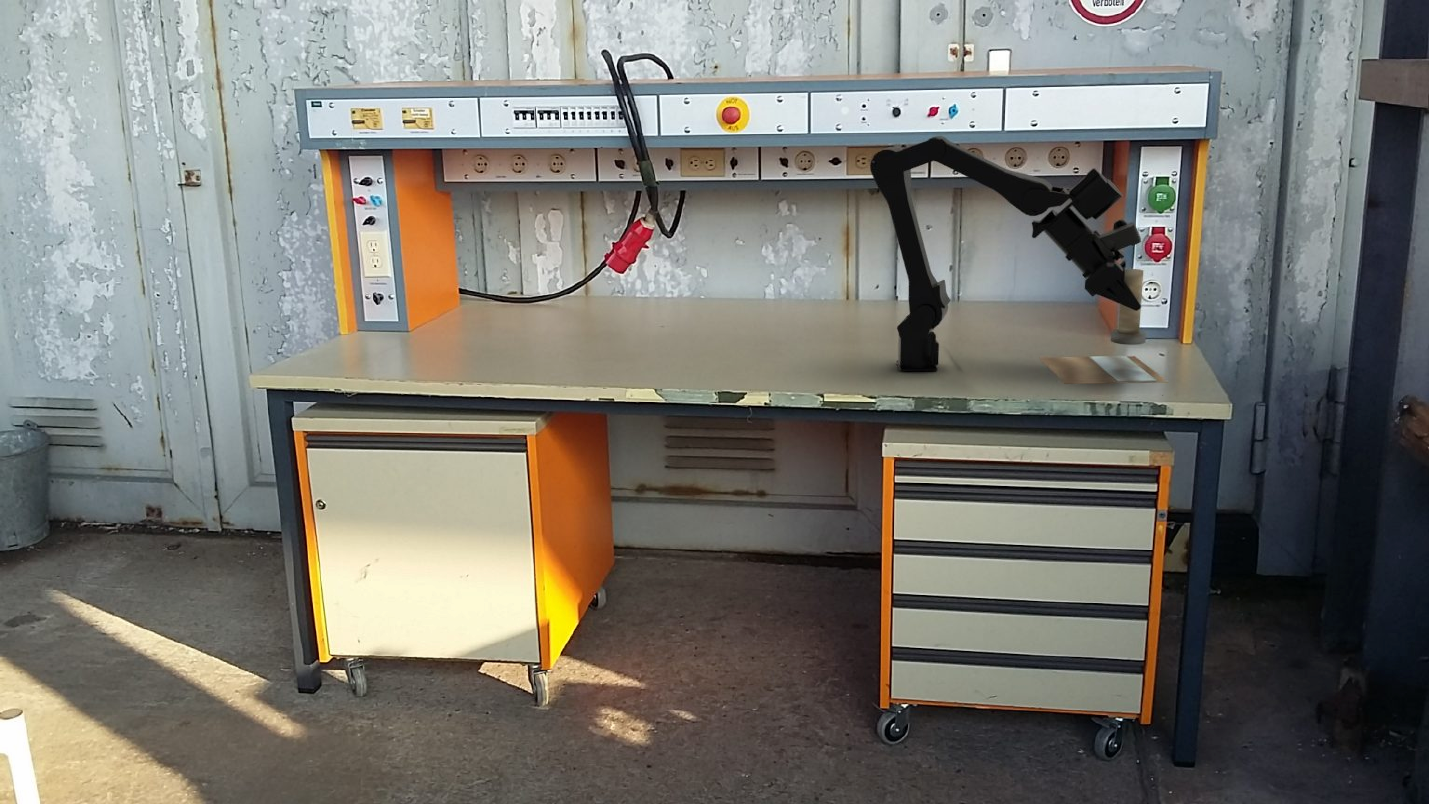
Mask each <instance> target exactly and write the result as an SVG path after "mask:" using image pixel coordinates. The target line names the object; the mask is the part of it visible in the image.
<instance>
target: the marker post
mask: <svg viewBox="0 0 1429 804" xmlns="http://www.w3.org/2000/svg"><path fill="white" fill-rule="evenodd" d="M1125 282H1126V283H1127V285H1128V286H1129V288H1130V289H1131V291H1132V292H1133V294H1134V295H1135V297H1136V298H1137V300H1138V302H1139V303H1140V305H1141V306H1142V299H1143V285H1144V284H1143V282H1144V269H1139V268H1138V269H1137V268H1125ZM1141 310H1142V307H1141V308H1140V309H1139V310H1138V311H1135V310H1133V309H1130V308H1128V307H1126V306H1124V305H1121V304H1119V310H1118V322H1117V323H1118V327H1117V329H1112V330H1111V331H1110V342H1111V343H1115V344H1117V345H1118V344H1119V345H1125V346H1127V345H1129V346H1134V345H1142V344H1145V343H1146V339H1147V338H1146V337H1147V332H1146V331H1144V330H1141V329H1140V327H1141V325H1140V324H1141V313H1142V311H1141Z"/></svg>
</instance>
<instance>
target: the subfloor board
mask: <svg viewBox="0 0 1429 804" xmlns="http://www.w3.org/2000/svg"><path fill="white" fill-rule="evenodd" d="M1039 359H1040V361H1042V362H1043V363H1044V364H1045V366H1046V367H1048V368H1049V370H1050V371H1052V372H1053V374H1054V375H1056V377H1057V378H1058V379H1059V380H1060V381H1062V382H1063V383H1064V385H1075V384H1077V385H1079V384H1080V385H1081V384H1082V385H1083V384H1086V385H1089V384H1147V383H1148V384H1150V383H1152V384H1153V383H1158V384H1159V383H1160V384H1161V383H1169V381H1168V380H1167V379H1165V378H1164V377H1163V376H1162V375H1161V374H1158V372H1156V371H1155V370H1154V369H1152V368H1151V367H1150V366H1148V365H1147V364H1146V363H1144V362H1143V361H1141V360H1140V358H1138V357H1136V356H1135V355H1134V356H1133V355H1128V356H1127V355H1102V356H1101V355H1099V356H1098V355H1097V356H1094V355H1093V356H1066V357H1063V356H1062V357H1061V356H1060V357H1058V356H1057V357H1046V356H1045V357H1044V356H1043V357H1039Z"/></svg>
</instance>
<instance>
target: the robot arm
mask: <svg viewBox="0 0 1429 804" xmlns="http://www.w3.org/2000/svg"><path fill="white" fill-rule="evenodd" d="M931 162H937V163H938V164H941V165H943V166H944V167H947V168H949V169H951V170H952V171H955V172H957V173H959V174H961V175H963V176H965V177H967V178H969V179H971V180H972V181H975V182H977V183H979V184H981V185H983V186H985V187H986V188H989V189H991V190H994V192H996V193H997V194H999V195H1000V196H1001V197H1002V198H1003V199H1005V201H1007V202H1008V203H1009V204H1011V205H1012V206H1013V207H1014V208H1016V209H1017V210H1019V211H1020V212H1021V213H1022V214H1024V215H1026V216H1029V217H1037V216H1041V215H1043V214H1044V213H1045V212H1047V211H1048V210H1049V209H1050V208H1056V207H1061V206H1062V205H1063V204H1065V203H1066V202H1067V201H1068V200H1071V201H1070V202H1068V203H1067V204H1066V205H1065V206H1064V207H1063V208H1062V209H1060V210H1059V211H1056V210H1055V209H1051V210H1050V211H1049V212H1048V213H1047V214H1046V215H1045V216H1043V218H1041V219H1040V220H1035V219H1034V220H1032V222H1031V226H1032V232H1031V233H1032V234H1031V238H1033V239H1036V238H1038V237H1039V236H1040V235H1041V234H1042V233H1045V235H1047V237H1048V238H1049V239H1050V240H1051V241H1052V242H1053V243H1054V244H1055V245H1056V246H1057V247H1058V248H1059V249H1060V250H1061V252H1062V253H1064V255H1065V257H1064V258H1066V260H1067V261H1068V262H1070V261H1071V262H1072V263H1073V264H1074V266H1076V268H1077V269H1078V270H1080V272H1082V274H1081V276H1082V277H1083V278H1084V279H1085V280H1084V290H1085V291H1086V292H1087V293H1088V294H1089V295H1090V296H1091V297H1095V296H1096V295H1097V296H1100V297H1103V298H1105V299H1107V300H1111V301H1112V302H1115V303H1117V304H1119V305H1120V304H1121V305H1124V306H1126V307H1128V308H1130V309H1133V310H1135V311H1138V310H1139V309H1140V308H1141V309H1142V304H1141V305H1140V303H1139V302H1138V300H1137V298H1136V297H1135V295H1134V294H1133V292H1132V291H1131V289H1130V288H1129V286H1128V285H1127V283H1126V282H1125V269H1127V268H1126V267H1127V266H1126V265H1127V261H1126V259H1124V260H1123V261H1122V262H1118V261H1119V260H1120V259H1121V260H1122V259H1123V258H1124V257H1125V252H1123V250H1122V249H1124V248H1128V247H1129V246H1136V245H1138V244H1140V243H1141V242H1142V238H1141V236H1140V233H1139V230H1138V228H1137V226H1136V223H1135V222H1134V221H1130V222H1127V221H1126V220H1125V219H1123V218H1120V219H1118V220H1115V221H1114V222H1113V229H1111V230H1108V231H1107V232H1105V233H1102V234H1101V233H1100V232H1098V230H1096V229H1095V230H1094V229H1091V228H1090V227H1089V226H1088V225H1087V224H1086V223H1085V222H1084V220H1083V219H1081V218H1080V216H1079V215H1081V217H1083V218H1084V219H1085V220H1086V221H1088V220H1090V219H1091V218H1092V219H1094V220H1096V221H1097V220H1098V219H1100V218H1101V216H1103V215H1104V214H1105V213H1106V212H1107V211H1108V210H1109V209H1111V208H1112V207H1113V206H1114V205H1116V204H1117V203H1118V202H1119V201H1120V200H1121V199H1122V198H1123V197H1124V194H1123V193H1122V191H1120V190H1119V189H1118V187H1117V186H1116V185H1115V184H1114V183H1113V182H1112V180H1110V179H1107V178H1106V177H1105V176H1104V175H1103V173H1101V172H1100V171H1099V170H1098V169H1097V168H1095V167H1092V168H1091V169H1090V170H1089V171H1088V172H1087V173H1086V174H1085V176H1084V177H1083V178H1082V179H1081V180H1080V181H1079V182H1078V183H1076V184H1075V185H1074V186H1073V187H1072V188H1067V187H1058V186H1053V185H1052V184H1051V183H1050V182H1049V181H1047V180H1046V179H1044V178H1041V177H1038V176H1034V175H1031V174H1027V173H1023V172H1018V171H1013V170H1010V169H1006V167H1003V166H1001V165H998V164H997V163H995V162H993V161H991V160H988V159H987V158H985V157H983V156H981V155H979V154H976V153H975V152H973V151H971V150H968V149H966V148H964V147H962V146H960V145H958V144H956V143H954V142H952V141H950V140H949V139H947V138H946V137H945V136H942V135H935V136H932V137H930V138H928V139H927V140H925V141H922V142H919V143H916V144H914V145H911V146H909V147H905V148H900V147H897V146H889V147H887V148H884V149H881V150H880V151H878V152H877V153H875V154H874V155H873V157H872V159H871V161H870V163H869V164H870V165H869V169H870V173H871V175H872V177H873V180H874V182H875V185H876V186H877V189H878V190H879V192H880V193H881V195H882V196H883V198H884V200H885V202H886V203H887V205H888V209H889V212H890V217H891V220H892V224H893V227H894V228H893V229H894V231H895V235H896V238H897V242H898V246H899V249H900V253H901V257H902V260H903V263H904V268H905V272H906V276H907V279H908V297H907V298H908V308H909V309H908V310H909V311H908V312H909V314H907V315H906V316H905V317H904V319H903V320H901V322H900V323H899V325H897V327H896V329H897V333H898V345H897V346H898V349H897V352H898V353H897V354H898V355H897V360H896V361H895V362H896V366H897V367H898V370H899V371H900V372H936V371H938V367H937V366H938V365H939V360H940V359H939V352H940V350H939V349H940V343H939V342H938V340H937V334H936V333H935V332H934V329H935V328H936V327H937V326H939V325H940V324H941V322H942V321H943V320H944V318H945V316H946V315H947V313H948V310H949V303H950V302H951V301H952V300H951V298H950V297H949V295H948V293H947V286H946V280H945V279H941V280H939V281H937V279H936V278H935V276H934V275H933V273H932V271H931V266H930V263H929V259H928V254H927V251H926V248H925V244H924V240H923V236H922V232H921V229H920V225H919V222H918V217H917V213H916V209H915V206H914V202H913V199H912V172H911V171H912V169H915V168H917V167H920V166H923V165H926V164H928V163H931ZM1071 207H1072V208H1074V209H1075V210H1076V211H1077V212H1078V214H1079V215H1078V214H1076V212H1074V210H1073V209H1072V208H1071Z"/></svg>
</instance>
